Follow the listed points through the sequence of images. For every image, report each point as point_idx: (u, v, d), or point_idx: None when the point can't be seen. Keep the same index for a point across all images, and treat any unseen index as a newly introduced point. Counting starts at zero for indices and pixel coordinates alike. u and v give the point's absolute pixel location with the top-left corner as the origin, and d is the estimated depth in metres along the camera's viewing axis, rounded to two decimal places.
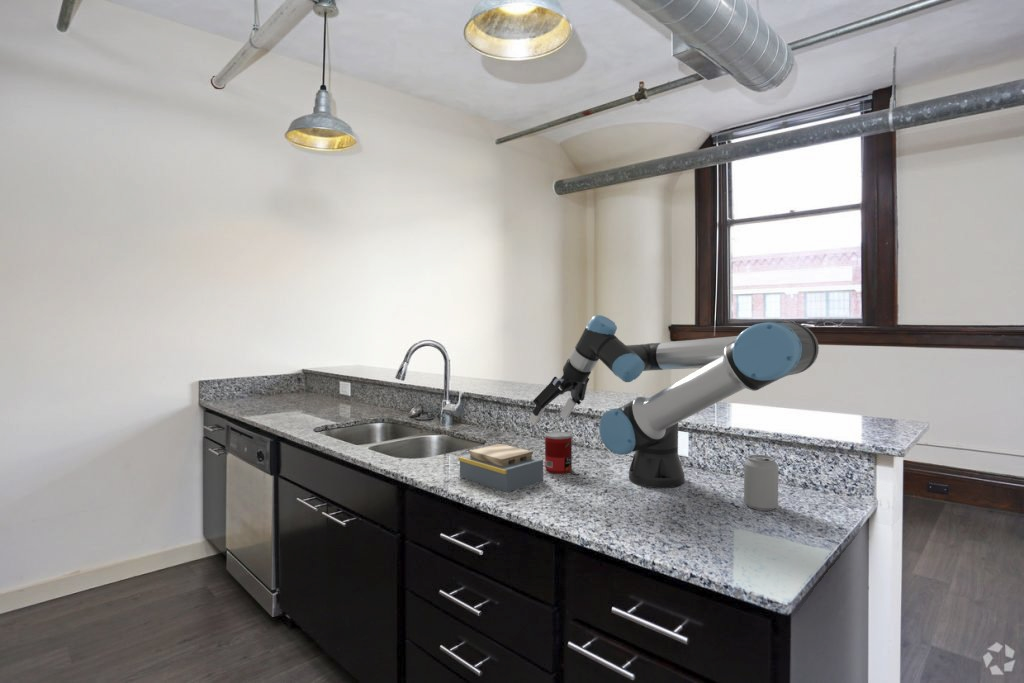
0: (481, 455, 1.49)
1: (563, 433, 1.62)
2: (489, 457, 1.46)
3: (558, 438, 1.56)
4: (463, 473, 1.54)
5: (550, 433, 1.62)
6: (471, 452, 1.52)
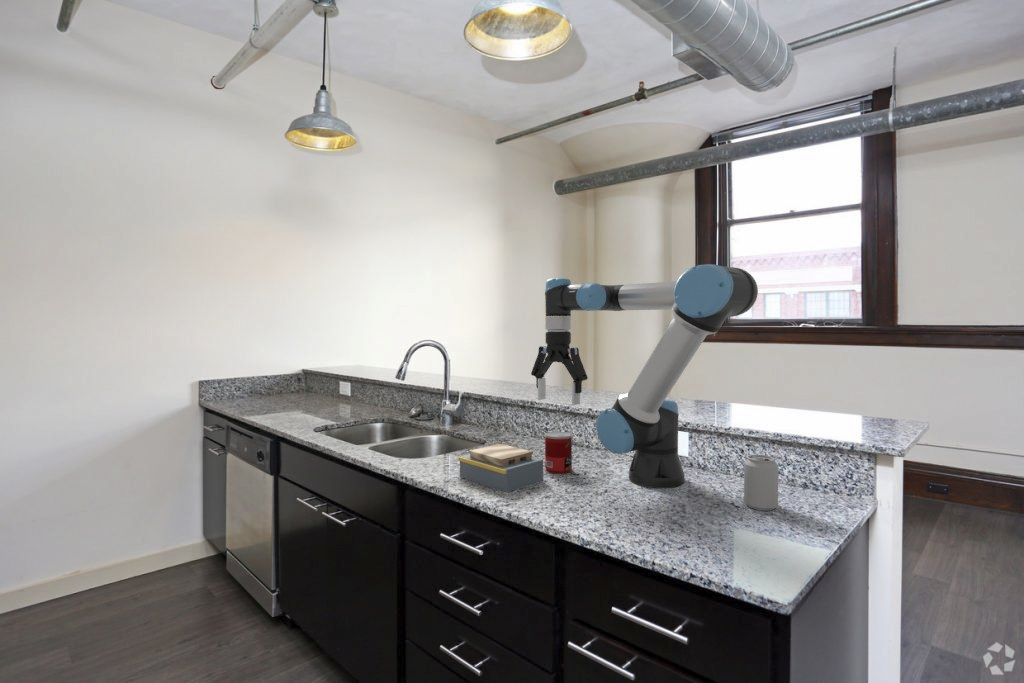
0: (481, 455, 1.49)
1: (563, 433, 1.62)
2: (489, 457, 1.46)
3: (558, 438, 1.56)
4: (463, 473, 1.54)
5: (550, 433, 1.62)
6: (471, 452, 1.52)
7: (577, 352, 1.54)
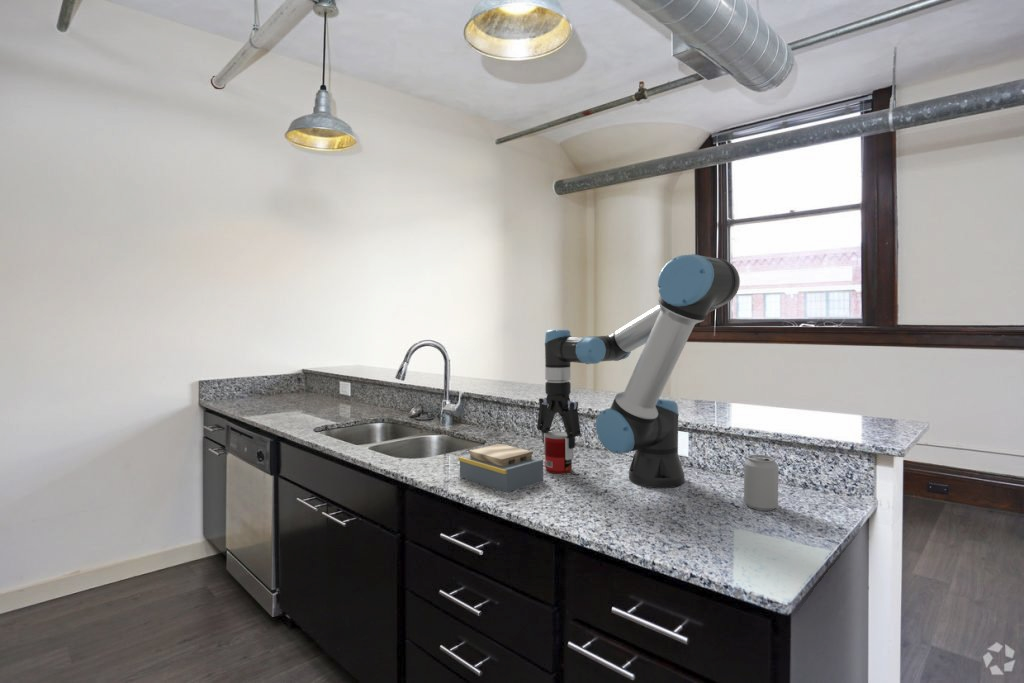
0: (481, 455, 1.49)
1: (563, 433, 1.62)
2: (489, 457, 1.46)
3: (558, 438, 1.56)
4: (463, 473, 1.54)
5: (550, 433, 1.62)
6: (471, 452, 1.52)
7: (576, 407, 1.55)
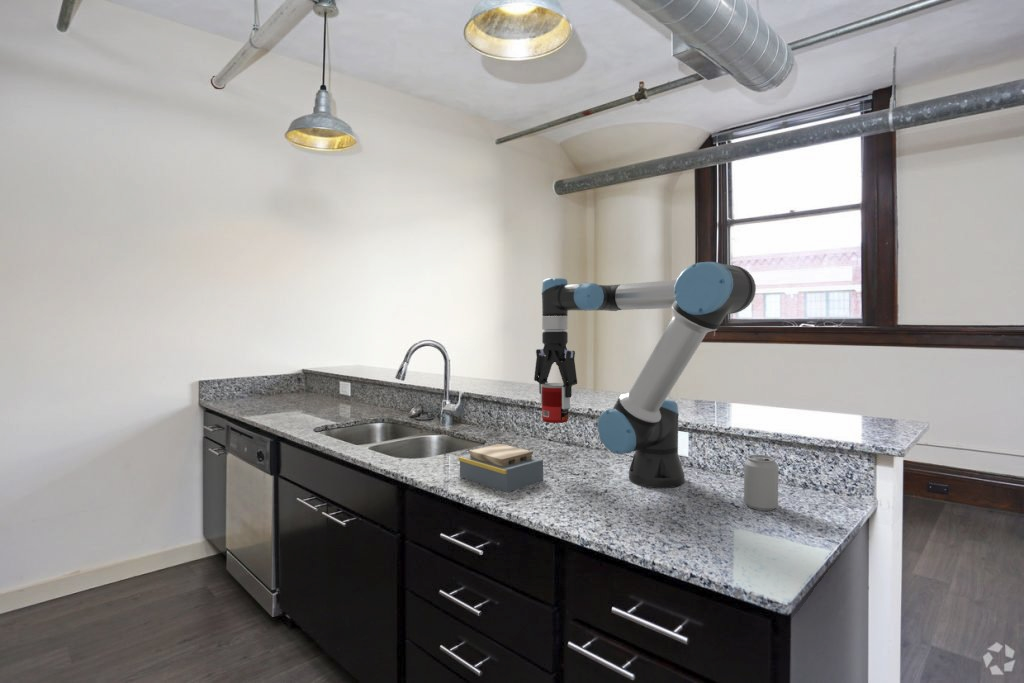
0: (481, 455, 1.49)
1: (560, 384, 1.61)
2: (489, 457, 1.46)
3: (555, 387, 1.55)
4: (463, 473, 1.54)
5: (547, 384, 1.61)
6: (471, 452, 1.52)
7: (573, 356, 1.54)
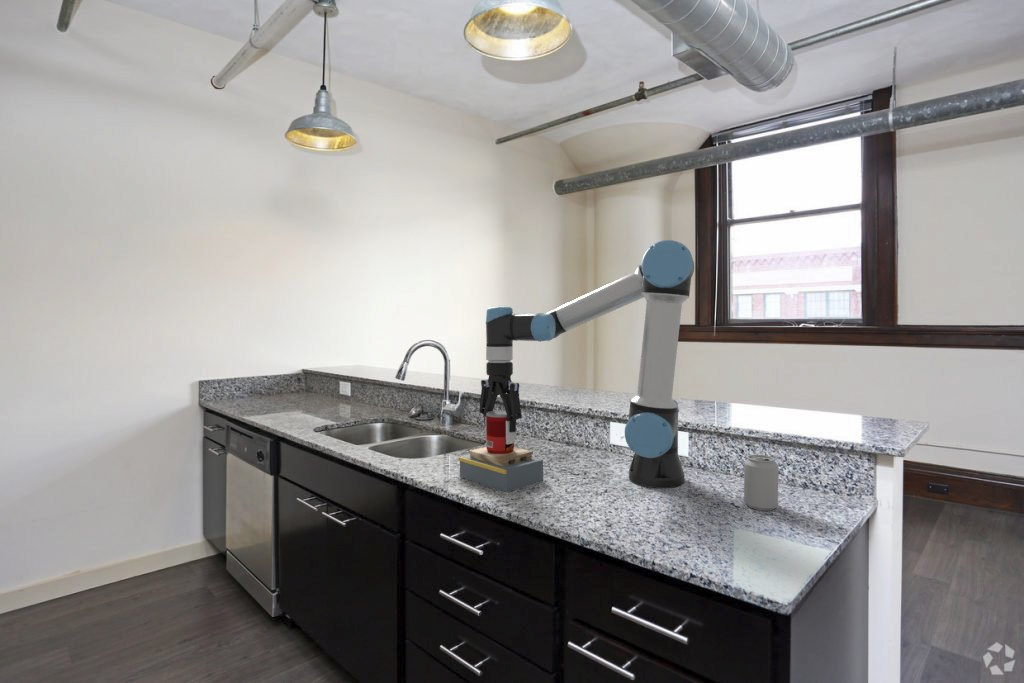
0: (481, 455, 1.49)
1: None
2: (489, 457, 1.46)
3: (498, 416, 1.48)
4: (463, 473, 1.54)
5: (492, 412, 1.54)
6: (471, 452, 1.52)
7: (517, 388, 1.47)
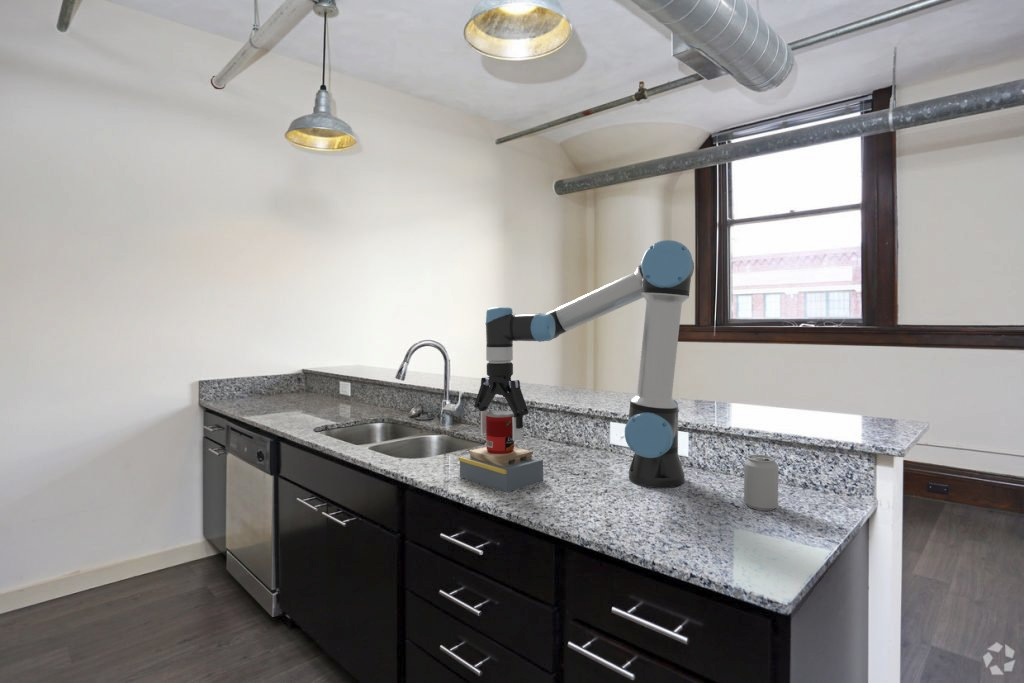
0: (481, 455, 1.49)
1: (506, 412, 1.54)
2: (489, 457, 1.46)
3: (498, 416, 1.48)
4: (463, 473, 1.54)
5: (492, 412, 1.54)
6: (471, 452, 1.52)
7: (518, 385, 1.47)
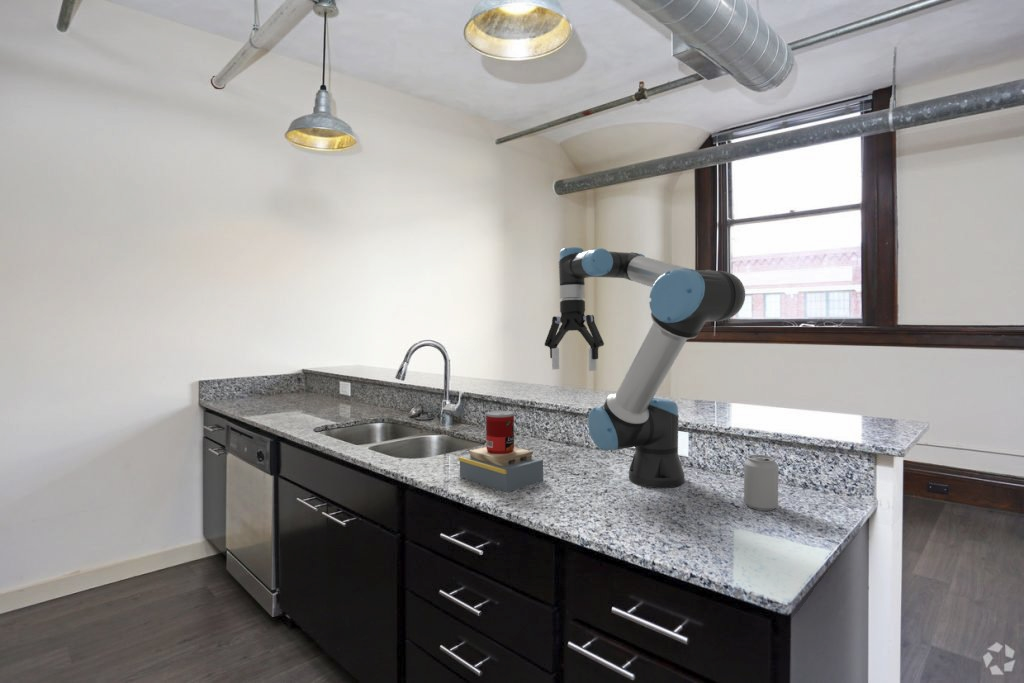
0: (481, 455, 1.49)
1: (506, 412, 1.54)
2: (489, 457, 1.46)
3: (498, 416, 1.48)
4: (463, 473, 1.54)
5: (492, 412, 1.54)
6: (471, 452, 1.52)
7: (593, 319, 1.57)
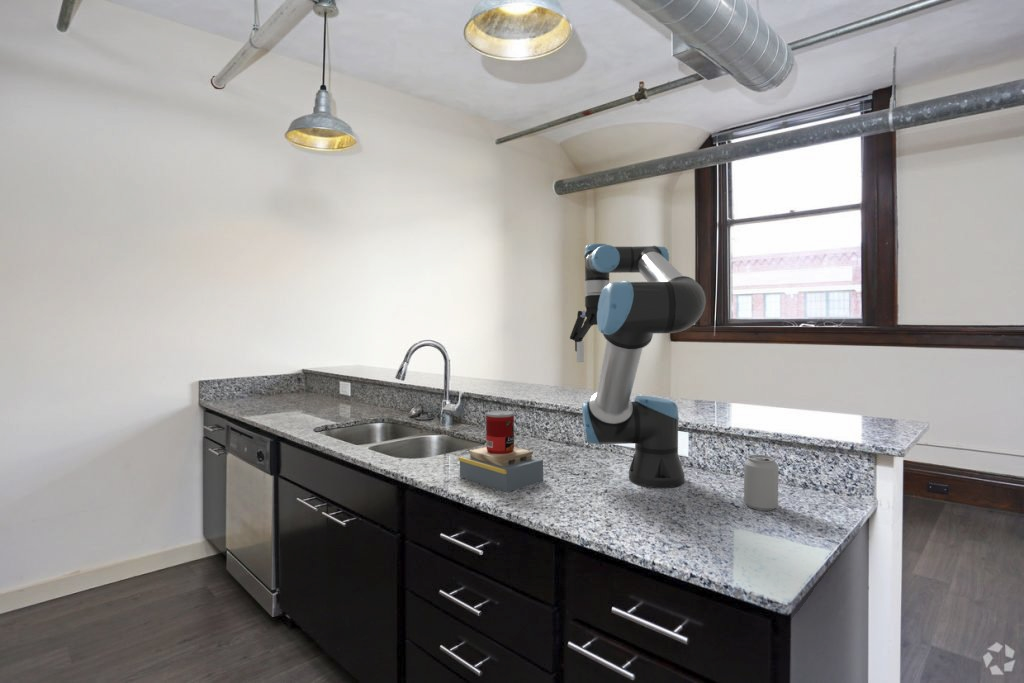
0: (481, 455, 1.49)
1: (506, 412, 1.54)
2: (489, 457, 1.46)
3: (498, 416, 1.48)
4: (463, 473, 1.54)
5: (492, 412, 1.54)
6: (471, 452, 1.52)
7: None
